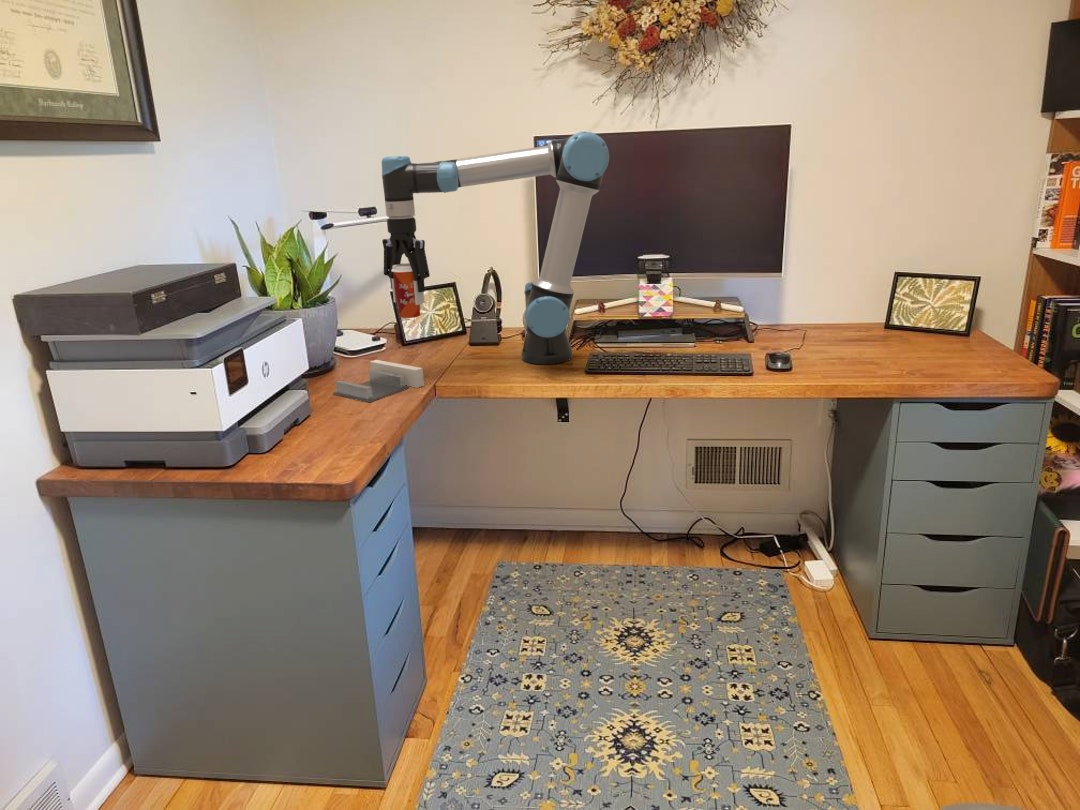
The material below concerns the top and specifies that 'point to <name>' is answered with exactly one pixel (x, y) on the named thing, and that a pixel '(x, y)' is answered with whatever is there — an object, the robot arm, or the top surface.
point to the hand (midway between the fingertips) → (409, 302)
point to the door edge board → (401, 372)
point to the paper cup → (405, 290)
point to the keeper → (372, 386)
